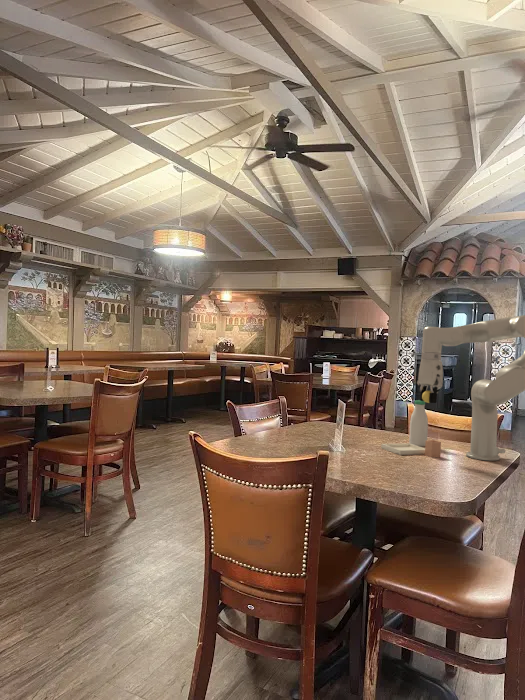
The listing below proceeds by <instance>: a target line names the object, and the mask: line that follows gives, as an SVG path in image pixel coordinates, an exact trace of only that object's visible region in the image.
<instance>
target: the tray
mask: <svg viewBox="0 0 525 700" xmlns="http://www.w3.org/2000/svg"><path fill="white" fill-rule="evenodd" d="M380 447H381V448H380V449H382V450H385V451H387V452H391V453H394V454H396V455H398V456H409V455H411V456H415V455H425V447H423V446H416V445H413V444H410V443H409V442H407V443H404V442H403V443H381V446H380Z"/></svg>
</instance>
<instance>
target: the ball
mask: <svg viewBox="0 0 525 700" xmlns="http://www.w3.org/2000/svg"><path fill="white" fill-rule="evenodd" d="M430 393H431V390H428V389H427V391H425V392H424V393H423V394H422V399H423V400H424V401H425V403H428V404H430V403H429V395H430Z"/></svg>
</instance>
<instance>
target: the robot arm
mask: <svg viewBox="0 0 525 700" xmlns="http://www.w3.org/2000/svg"><path fill="white" fill-rule="evenodd" d="M514 338H524V339H525V315H517V316H509V317H501V318H497V319H491V320H490V319H489V320H483V321H479V322H475V323H470V324H465V325H459V326H453V327H438V326H426V327H424V328H423V331H422V344H421V357H420V359H421V360H420V363H419V369H418V378H417V379H418V380H417V381H416V384H417V385H418V387H419V392H420V397H419V400H420V401H424V400H423V399H422V394H423V393H424V392H425V391H428V388H430V391H431V393H430V395H429V403H428V404H436V403H437V401H438V394H439V391H440V389H441V388H443V381H444V380H443V379H444V378H443V377H444V373H443V372H444V371H443V361H442V348H443V347H442V346H444V347H456V346H459V345H461V344H470V343H487V342H488V343H489V342H495V341H501V340H508V339H514ZM523 392H525V350H524V351H523V354H522V355H520V356H519V357H518V358H516V359H515V360H514V361H512V362H510V363H508V364H506V365H505V366H503V367H501V368H499V370H498V371H497V372H496V374H495V379H479V380H477V381H475V382H474V383H473V385H472V387H471V390H470V396H471V410H472V411H471V429H470V432H471V433H470V451H467V452H466V453H465V456H466V457H467V458H470V459H474V460H481V461H487V462H489V461H491V462H492V461H493V462H495V461H500V460H501V456H500V455H499V454H505V453H506V449H505V448H502V447H501V448H499V447H498V446H497V438H498V437H497V436H498V434H497V433H498V421H499V420H498V413H499V412H498V406H500V405H502V404H505V403H507V402H509V401H510V400H512V399H513V398H515V397H517V396H518V395H519V394H522V393H523Z"/></svg>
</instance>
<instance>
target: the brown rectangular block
mask: <svg viewBox="0 0 525 700" xmlns="http://www.w3.org/2000/svg"><path fill="white" fill-rule="evenodd" d="M424 448H425V454H424V456H427V457H430V458H441V450H442V449H441V448H442V441H440V440H435V439H431V440H430V439H429V440H428V439H427V440H426V443H425V446H424Z"/></svg>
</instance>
